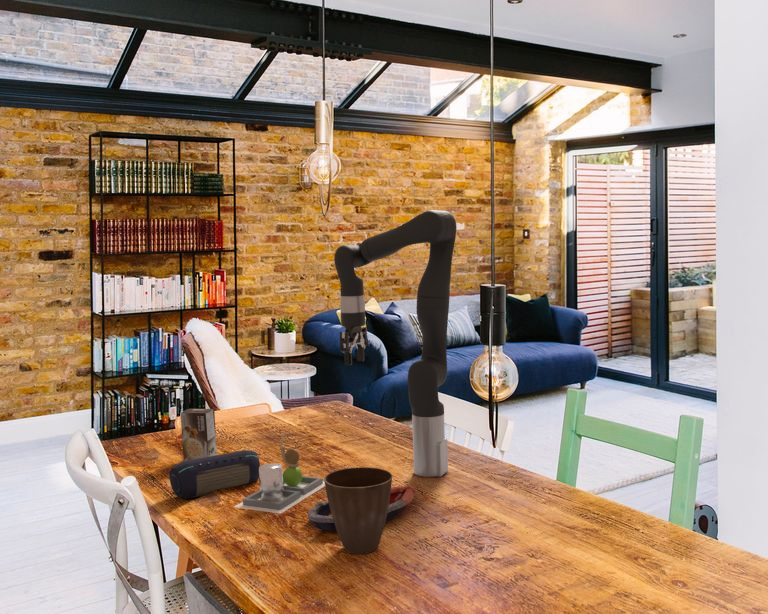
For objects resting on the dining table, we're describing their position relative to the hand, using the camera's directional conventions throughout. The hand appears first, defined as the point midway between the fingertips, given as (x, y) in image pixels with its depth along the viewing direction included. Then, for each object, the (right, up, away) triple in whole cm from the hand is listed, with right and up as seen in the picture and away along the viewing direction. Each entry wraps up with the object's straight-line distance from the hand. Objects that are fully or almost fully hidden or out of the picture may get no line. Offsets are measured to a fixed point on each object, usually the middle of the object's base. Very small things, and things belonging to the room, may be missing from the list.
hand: (354, 363), depth 236 cm
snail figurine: (-16, -32, -26) cm, 44 cm away
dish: (+4, -35, -48) cm, 59 cm away
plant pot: (+4, -36, -66) cm, 76 cm away
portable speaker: (-37, -34, -24) cm, 55 cm away
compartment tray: (-17, -34, -33) cm, 50 cm away
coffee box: (-49, -31, +6) cm, 58 cm away
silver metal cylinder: (-20, -33, -38) cm, 54 cm away
